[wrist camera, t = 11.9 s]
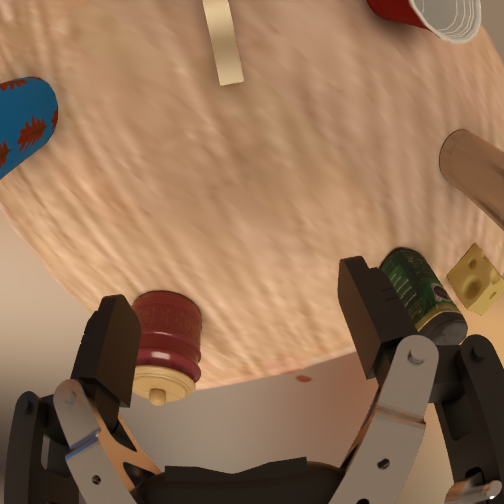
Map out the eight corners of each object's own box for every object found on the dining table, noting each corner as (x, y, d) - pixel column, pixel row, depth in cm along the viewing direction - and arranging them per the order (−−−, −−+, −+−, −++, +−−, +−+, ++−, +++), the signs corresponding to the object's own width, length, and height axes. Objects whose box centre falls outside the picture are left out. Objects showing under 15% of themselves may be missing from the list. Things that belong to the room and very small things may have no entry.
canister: (117, 299, 46) (95, 389, 33) (181, 280, 45) (171, 381, 31) (155, 340, 54) (146, 420, 40) (213, 326, 53) (215, 414, 39)
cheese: (474, 241, 46) (500, 273, 39) (488, 257, 50) (511, 286, 42) (443, 276, 52) (466, 310, 44) (460, 288, 56) (480, 318, 48)
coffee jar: (370, 276, 48) (412, 363, 34) (394, 242, 44) (450, 328, 30) (404, 284, 51) (446, 361, 37) (427, 254, 47) (478, 330, 32)
